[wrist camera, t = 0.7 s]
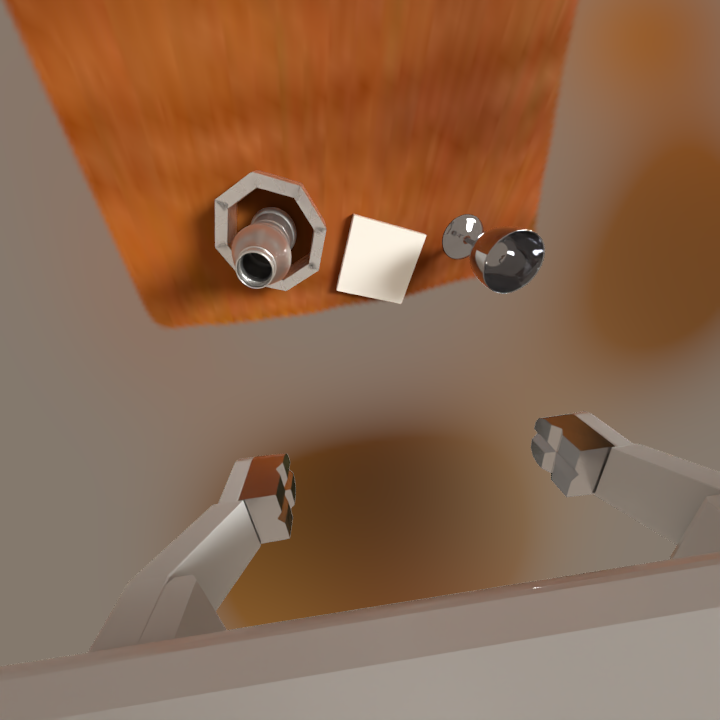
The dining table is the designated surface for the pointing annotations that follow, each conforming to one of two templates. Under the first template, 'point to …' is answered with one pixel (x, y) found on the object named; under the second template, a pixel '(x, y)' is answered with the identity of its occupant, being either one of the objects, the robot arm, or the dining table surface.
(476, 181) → the dining table surface
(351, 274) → the ceramic pad
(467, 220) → the wine glass
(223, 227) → the steel collar
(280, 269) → the plastic bottle
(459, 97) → the dining table surface
